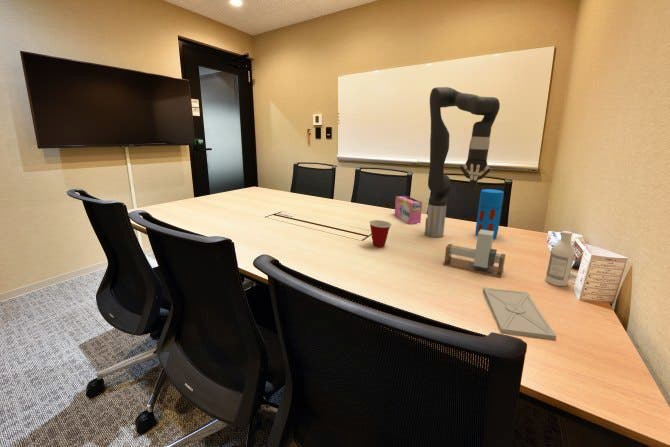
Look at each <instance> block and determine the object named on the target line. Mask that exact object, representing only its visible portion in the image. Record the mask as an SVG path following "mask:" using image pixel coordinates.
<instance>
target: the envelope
mask: <svg viewBox="0 0 670 447" xmlns="http://www.w3.org/2000/svg"><path fill="white" fill-rule="evenodd" d="M482 293H483V296H484V298H485V300H486V302H487V304H488V307H489V308H490V311H491V313H492V316H493V319H494V320H495V322H496V324H497V328H498V330H499V332H500V333H502V334H508V335H509V334H510V335H516V336H524V337H531V338H540V339H546V340H547V339H548V340H554V341H556V340H557V335H556V333H555V332H554V330H553V328H552V327H551V326H550V324H549V323H548V321H547V320H546V319H545V317H544V315H543V314H542V312H541V311H540V310H539V309H540V308H538V307H537V305H536V303H535V302H534V301H533V299H532V298H531V296H530V294H529V293H528V292H527V291H521V290H520V291H519V290H512V289H511V290H510V289H504V288H503V289H501V288H493V287H492V288H491V287H483V288H482Z"/></svg>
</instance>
